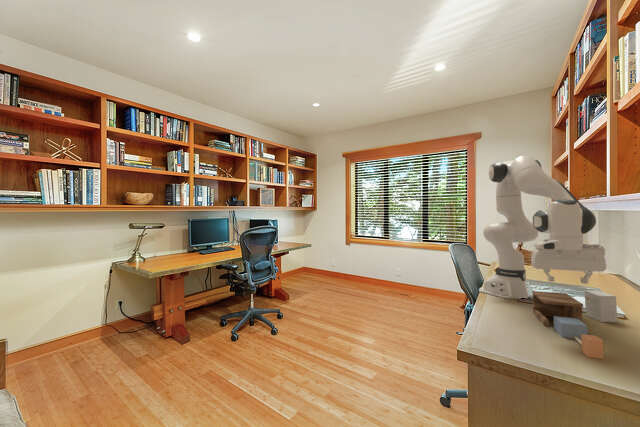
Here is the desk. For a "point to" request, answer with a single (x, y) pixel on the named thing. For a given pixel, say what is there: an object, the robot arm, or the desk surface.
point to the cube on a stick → (579, 335)
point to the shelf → (555, 306)
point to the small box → (601, 306)
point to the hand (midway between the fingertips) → (567, 282)
